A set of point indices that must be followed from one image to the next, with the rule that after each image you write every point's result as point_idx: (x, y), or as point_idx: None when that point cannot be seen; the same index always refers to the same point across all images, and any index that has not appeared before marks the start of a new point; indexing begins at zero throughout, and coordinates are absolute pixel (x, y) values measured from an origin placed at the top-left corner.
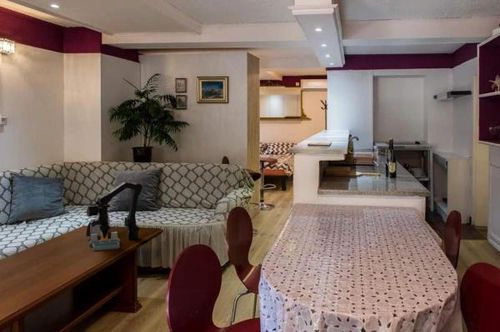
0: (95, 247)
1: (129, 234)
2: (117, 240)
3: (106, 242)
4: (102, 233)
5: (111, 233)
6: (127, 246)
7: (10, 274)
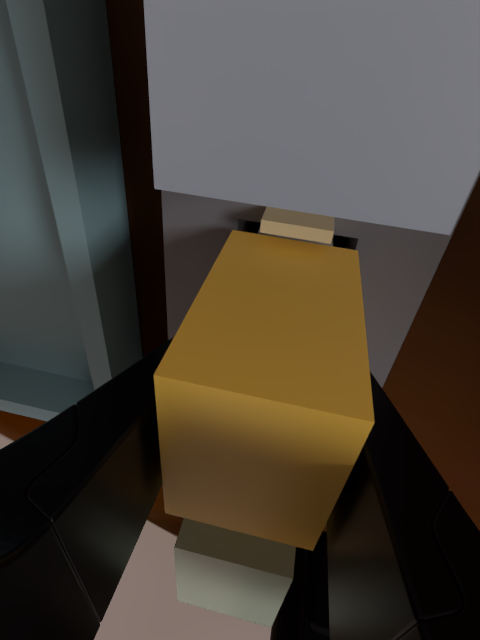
0: None
1: (302, 608)
2: None
3: (73, 287)
4: (169, 417)
5: (177, 541)
6: (27, 427)
7: None
